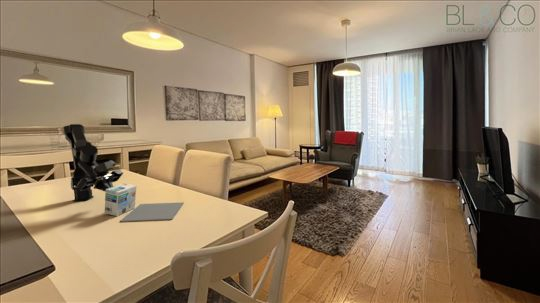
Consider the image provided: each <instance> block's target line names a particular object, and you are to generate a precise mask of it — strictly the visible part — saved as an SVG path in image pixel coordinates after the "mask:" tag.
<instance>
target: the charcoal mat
mask: <svg viewBox="0 0 540 303" xmlns="http://www.w3.org/2000/svg"><path fill="white" fill-rule="evenodd" d="M184 204H185V202H182V201H181V202H163V203H162V202H157V203H156V202H155V203H139V205H137V206H135V208H134V209H132V210H130V212H128V214H126V215H125V216H124V217H123V218H121V219H120V220H119V222H120V223H124V222H125V223H127V222H128V223H131V222H152V221H153V222H154V221H156V222H158V221H173V219H174V218H175V216H176V215H177V214H178V212H180V210H181V208H182V207H183V205H184Z"/></svg>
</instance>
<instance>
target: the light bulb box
mask: <svg viewBox="0 0 540 303" xmlns="http://www.w3.org/2000/svg"><path fill="white" fill-rule="evenodd" d="M136 195H137V186H136V185H134V184H130V183H122V184H118V185H113V187H111V188H108V189H106V192H105V197H104V214H106V215H107V214H108V215H110V216H114V217H118V216H121V215H123V214H125V213H127V212H128V213H129V211H130V212H131V211H133V210H134V209H135V208H136V198H137V197H136Z"/></svg>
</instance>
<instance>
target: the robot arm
mask: <svg viewBox="0 0 540 303" xmlns="http://www.w3.org/2000/svg"><path fill="white" fill-rule="evenodd" d="M85 134H86V131H85V126H84V125H83V124H81V123H72V124H71V123H70V124H69V125H65V126H63V127H62V135H63V136H64V139H65V140H66V141H67V142H68V143H69V144H70V149H71V156H72V160H73V166H74V170H73V173H72V175H71V178H70V188H71V189H72V191H73V193H74V194H73V196H74V199H73V200H72V202H86V201H89V200H91V199H92V198H94V197H95V196H94V195H93V190H92V188H93V189H94V190H99V191H101V192H102V191H103V192H104V193H106V189H108V188H111V187H114V185H113V184H114V183H116V182H117V181H119V180H120V179H121V177H122V176H123V174H124V172H123V170H121V169H116V170H113V169H115V167H116V165H117V164H116V162H115V161H114V160H111V159H110V160H108V161H105V162H102V163H100V164H98V162H97V161H96V160H97V157H98V153H99V151H98V150H99V149H98V148H97V147H96V145H93V144H92V142H90V141H88V140H87V138H86V135H85ZM110 170H112V171H111V172H110ZM109 173H110V174H109Z"/></svg>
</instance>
